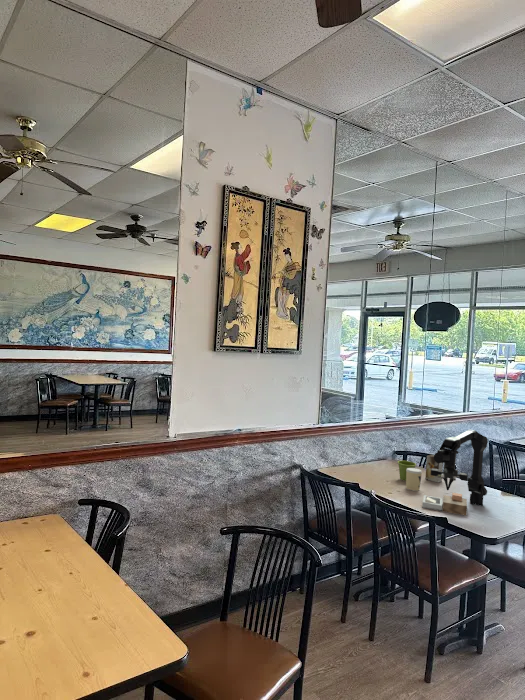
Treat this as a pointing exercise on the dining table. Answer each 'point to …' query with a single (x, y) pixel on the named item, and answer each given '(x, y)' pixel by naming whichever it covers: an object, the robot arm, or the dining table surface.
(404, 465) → the plant pot
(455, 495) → the terracotta tile
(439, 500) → the bin
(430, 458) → the coffee box
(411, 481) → the coffee cup
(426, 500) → the cream tile
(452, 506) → the brown cream box
